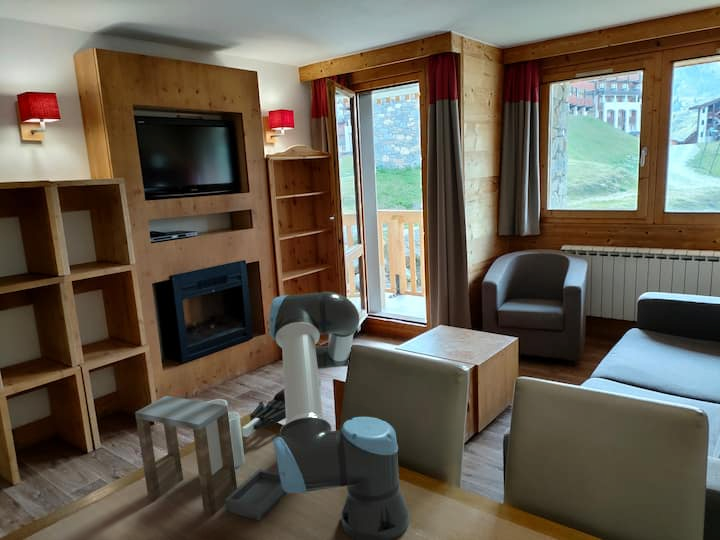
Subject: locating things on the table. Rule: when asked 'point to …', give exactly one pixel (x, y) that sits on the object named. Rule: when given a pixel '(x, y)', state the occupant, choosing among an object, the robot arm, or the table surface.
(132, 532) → the table surface
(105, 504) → the table surface
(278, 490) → the dark gray tray
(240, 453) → the vase
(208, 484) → the wooden stool
